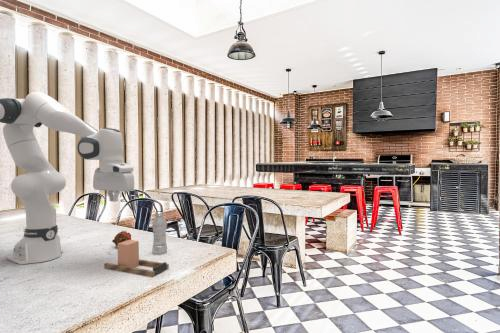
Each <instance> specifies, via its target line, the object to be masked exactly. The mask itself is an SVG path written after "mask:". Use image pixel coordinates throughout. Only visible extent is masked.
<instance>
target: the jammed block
mask: <svg viewBox="0 0 500 333" xmlns="http://www.w3.org/2000/svg"><path fill="white" fill-rule="evenodd" d="M139 243H140V242H139V240H133V239H131V240H127V241H124V242H121V243H118V246H117V265H122V266H128V267H134V268H138V266H140V265H139V259H140V256H139V255H140V246H139V245H140V244H139Z"/></svg>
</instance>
